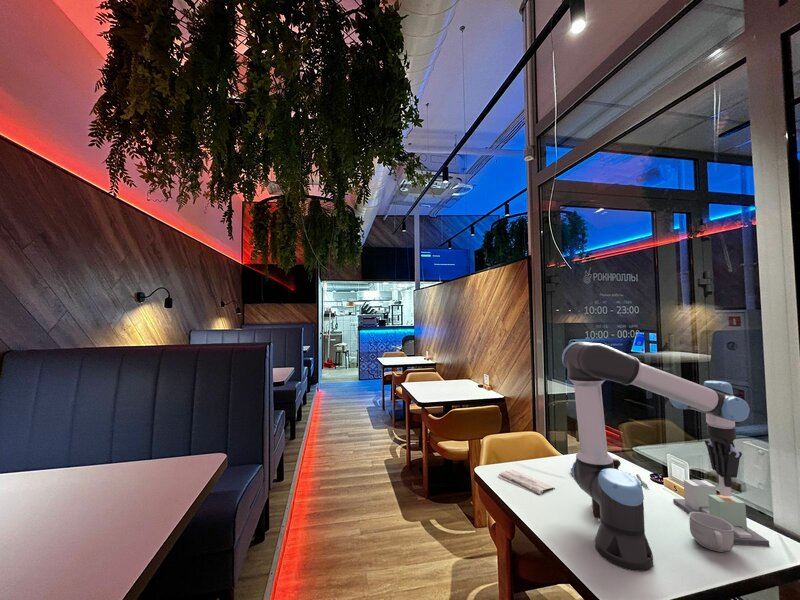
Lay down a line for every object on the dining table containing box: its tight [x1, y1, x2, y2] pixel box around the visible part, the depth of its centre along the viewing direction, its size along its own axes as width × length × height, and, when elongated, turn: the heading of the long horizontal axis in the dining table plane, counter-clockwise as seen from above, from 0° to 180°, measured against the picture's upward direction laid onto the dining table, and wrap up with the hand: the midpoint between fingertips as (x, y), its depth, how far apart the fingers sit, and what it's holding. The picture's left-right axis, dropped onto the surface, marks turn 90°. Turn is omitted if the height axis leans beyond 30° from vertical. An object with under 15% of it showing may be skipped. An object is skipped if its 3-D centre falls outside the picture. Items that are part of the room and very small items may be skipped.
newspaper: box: [498, 469, 556, 495], centre depth 155 cm, size 23×12×2 cm, turn 32°
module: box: [708, 494, 748, 531], centre depth 119 cm, size 8×5×9 cm, turn 84°
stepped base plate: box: [672, 479, 770, 547], centre depth 124 cm, size 12×26×11 cm, turn 174°
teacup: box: [688, 512, 734, 553], centre depth 110 cm, size 14×11×8 cm
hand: (725, 494), depth 120 cm, fingers closed
